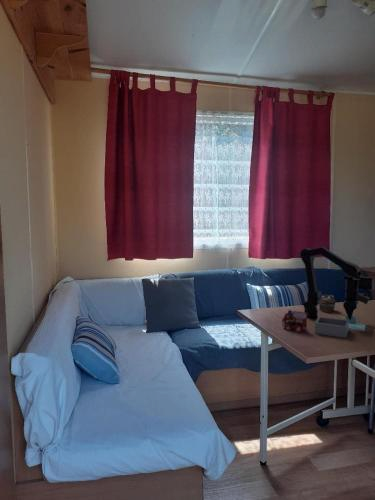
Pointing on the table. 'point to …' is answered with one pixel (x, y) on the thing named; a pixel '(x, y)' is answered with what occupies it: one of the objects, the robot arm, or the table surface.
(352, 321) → the lid
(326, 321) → the tub
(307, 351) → the table surface
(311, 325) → the table surface
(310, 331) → the table surface
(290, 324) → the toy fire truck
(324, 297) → the cupcake
